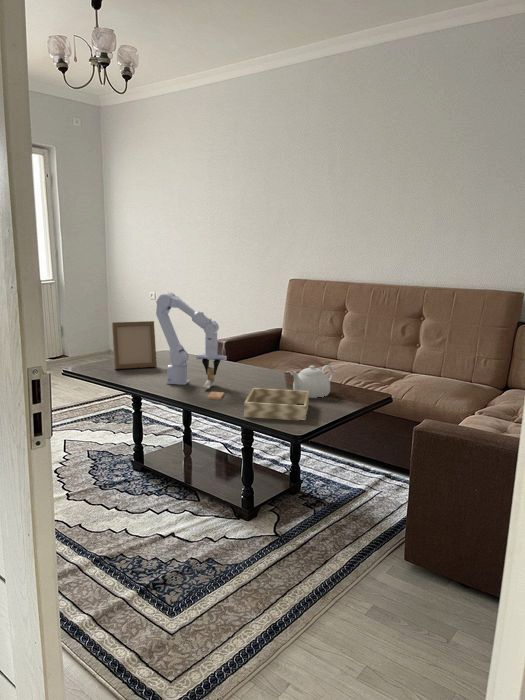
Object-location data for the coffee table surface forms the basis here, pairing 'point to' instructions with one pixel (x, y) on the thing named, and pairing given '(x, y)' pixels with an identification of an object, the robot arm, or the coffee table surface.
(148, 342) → the photo frame
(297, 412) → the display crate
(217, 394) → the tile
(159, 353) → the coffee table surface
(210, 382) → the turner
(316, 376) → the teapot
